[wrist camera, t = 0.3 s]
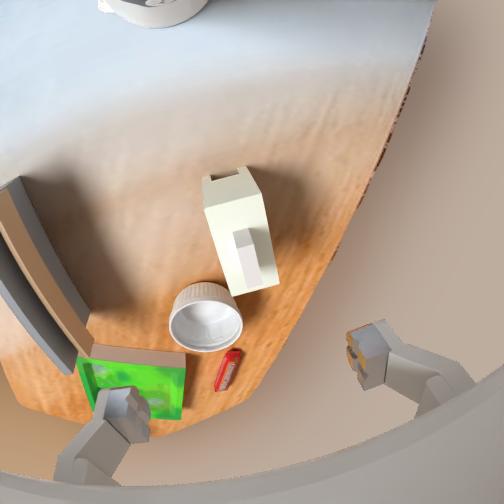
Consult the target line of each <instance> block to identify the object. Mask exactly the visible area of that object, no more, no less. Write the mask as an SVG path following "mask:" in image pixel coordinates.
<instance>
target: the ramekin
mask: <svg viewBox="0 0 504 504" xmlns="http://www.w3.org/2000/svg"><path fill="white" fill-rule="evenodd" d="M242 329H243V320H242V315H241V313H240V311H239V309H238V307H237V305H236V302H235V300H234V298H233V297H232V296H231V293H230V292H229V291H228V290H227V289H225V288H224V287H222V286H221V285H218V284H215V283H210V282H201V283H195V284H192V285H190V286H187V287H186V288H184V289H183V290H182V291H181V292H180V293H179V294H178V296H177V297H176V300H175V302H174V306H173V310H172V313H171V315H170V319H169V330H170V333H171V335H172V337H173V338H174V340H175V341H176V342H177V343H179V344H180V345H181V346H183V347H185V348H187V349H190V350H194V351H199V352H212V351H217V350H221V349H224V348H226V347H228V346H230V345H231V344H233V343H234V342H235V341H236V340H237V339H238V338H239V336H240V334H241V332H242Z"/></svg>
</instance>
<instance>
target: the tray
mask: <svg viewBox="0 0 504 504" xmlns="http://www.w3.org/2000/svg"><path fill="white" fill-rule="evenodd" d="M76 364H77V368H78V371H79V374H80V377H81V380H82V383H83V386H84V389H85V392H86V395H87V397H88V400H89V403H90V406H91V408H92V411H94V410H95V405H96V401H97V397H98V393H99V391H100V390H101V389H106V388H114V387H123V386H132V385H134V386H136V387H137V388H138V390H139V395H140V396H142V397H144V398H145V399H146V400H147V402H148V404H149V406H150V411H151V418H153V419H168V420H181V412H182V402H183V392H184V382H185V373H186V356H185V353H182V352H167V351H155V350H144V349H134V348H125V347H116V346H108V345H100V344H93V346H92V350H91V355H90V358H88V359H85V358H84V357H83V356H82V355H81V353H80V352H78V356H77V360H76Z"/></svg>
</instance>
